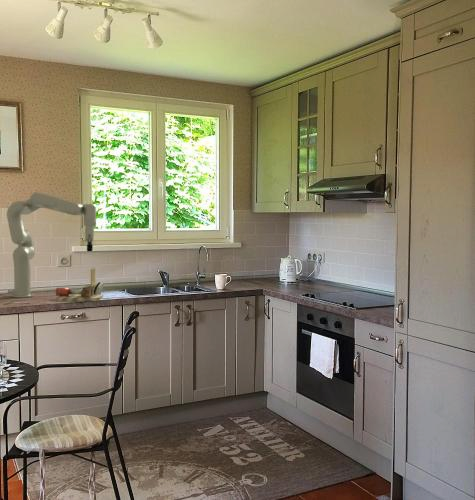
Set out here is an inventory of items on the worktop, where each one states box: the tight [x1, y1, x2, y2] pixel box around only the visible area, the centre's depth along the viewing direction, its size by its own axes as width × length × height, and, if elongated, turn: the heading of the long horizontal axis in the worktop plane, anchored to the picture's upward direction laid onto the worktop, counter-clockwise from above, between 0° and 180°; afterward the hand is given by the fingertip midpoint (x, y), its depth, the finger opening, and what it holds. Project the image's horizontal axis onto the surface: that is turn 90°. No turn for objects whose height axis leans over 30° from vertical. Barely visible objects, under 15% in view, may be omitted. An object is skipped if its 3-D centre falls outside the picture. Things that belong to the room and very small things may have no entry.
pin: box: [55, 287, 82, 297], centre depth 345 cm, size 19×5×5 cm, turn 93°
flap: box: [90, 267, 96, 287], centre depth 345 cm, size 1×10×11 cm, turn 3°
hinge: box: [94, 281, 105, 295], centre depth 364 cm, size 17×5×10 cm, turn 2°
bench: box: [56, 284, 104, 302], centre depth 345 cm, size 25×14×8 cm, turn 94°
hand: (89, 250), depth 355 cm, fingers open, 9 cm apart
